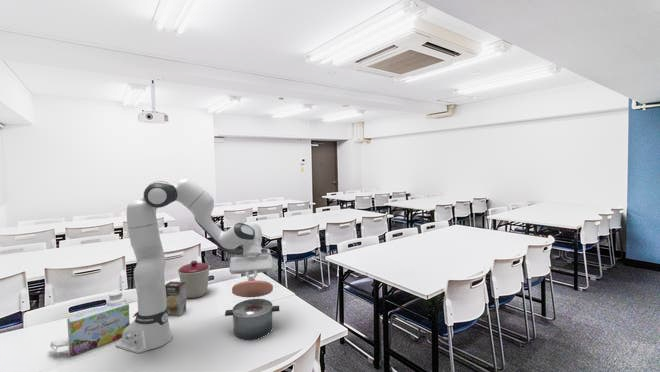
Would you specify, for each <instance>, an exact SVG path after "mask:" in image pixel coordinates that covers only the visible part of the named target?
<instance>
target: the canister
mask: <svg viewBox="0 0 660 372" xmlns="http://www.w3.org/2000/svg"><path fill="white" fill-rule="evenodd" d="M210 268H211V266H210V265H209V264H208V263H205V262H198V261H197V260H192V261H191V262H190V263H187V264H185V265H183V266H181V267H180V268H178V269H177V274H178V275H179V282H186V299H195V298H200V297H202V296H204V295H206V293H207V291H208V286H209V273H210Z"/></svg>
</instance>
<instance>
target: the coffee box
mask: <svg viewBox="0 0 660 372" xmlns="http://www.w3.org/2000/svg"><path fill="white" fill-rule="evenodd" d="M165 288H166V300H167V306H168V317H170V316H172V317H181V316H182V315H184V314H185V313H186V312H187V298H186V282H180V281H168V282H167V283H165Z"/></svg>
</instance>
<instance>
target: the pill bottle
mask: <svg viewBox="0 0 660 372" xmlns="http://www.w3.org/2000/svg"><path fill="white" fill-rule="evenodd" d="M108 296H109V297H108V298H109V299H107V301H106V307H107V306H110V305H114V304H117V303H120V302H123V301H125V302H126V303H127V299H126V297H125V296H123V291H122V290H121V291H120V290H117V291H113V292H111V293H110V294H108Z"/></svg>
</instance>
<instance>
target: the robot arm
mask: <svg viewBox="0 0 660 372" xmlns="http://www.w3.org/2000/svg"><path fill="white" fill-rule="evenodd" d="M175 201H176V202H178V203H180V204H181V205H182V206H185V208H186V209H188V210H189V211H190V213H192V215H193V216H194V220H195V222H196V223H197V225H198V226H199V227H200V228H201V229H202V230H203V231H204V232H205V233H206V234H207V235H208V236H209V237H210V238H211V239H212V240H213V241H214V243H215V244H216V246H217V247H218V248H219V250H221V251H222V252H224V253H231V252H233V251H235V250H236V249H237V248H238V247H240V246H243V250H242V254H234V255H232V256H231V257H229V263H230V265H229V273H230V274H231V275H239V274H242V275H243V274H245V275H246V278H247V281H253V280H256V277H257V276H258V273H269V272H270V273H272V272H273V271H274V261H273V256H272V253H271V250H270V249H268V248H263V247H262V242H263V233H262V228H261V227H260V225H259V224H257V223H253V222H251V223H248V224H247V223H244V222H237V223H235V224H234V225H232V226H231V227H229V228H228V229H227V230H226V231H224V230H222V229H221V228H220V227H219V226H218V224H216V222H214V221H213V219H212V213H213V210H214V208H215V207H214V206H215V200H214V198H213V197H212V195H211V194H210V193H209V192H208V191H206V190H205V189H204V188H203V187H202V186H200V185H198V183H196V182H194V181H193V180H192V179H189V178H186V177H184V178H180V179H178V180H177V181H175V183H173V184H170V183H169V182H167V181H165V180H164V181H163V180H156V181H152V182H151V183H149V184H148V186H146V188H145V189H144V191H143V197H141V198H139V199H135V200H132V201H131V202H129V203H128V204H127V206H126V224H127V229H128V230H127V231H128V235H129V240H130V241H129V242H130V246H131V248H132V249H133V253H134V255H135V258H136V259H135V261H136V266H135V267H134V269H133V279H134V286H135V291H136V297H137V298H136V299H137V310H138V311H136V312H135V313H134V314H133V315H132V316H133V317H132V318H135V320H133V321H132V322H130V325H128V326H127V327H126V328H125V329H124V331H123V333H122V338H120V339H117V341H116V343H115V347H116V348H119V349H123V350H126V351H129V352H132V353H136V354H141V353H145V352H146V351H149V350H154V349H157V348H159V347H162V346H164V345H166V344H168V343H169V342H170V341H171V340H172V338H173V334H172V330H171V328H170V322H169V316H168V306H167V300H166V288H165V285H166V281H165V267H166V263H167V262H166V256H165V253H164V252H165V251H164V248H163V245H162V241H161V236H160V230H159V229H160V228H159V224H158V219H157V210H158V209H160V208H161V209H162V208H163V207H164V208H165V207H166V206H168V205H169V204H172V203H174V202H175ZM250 274H253V276H250Z"/></svg>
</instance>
